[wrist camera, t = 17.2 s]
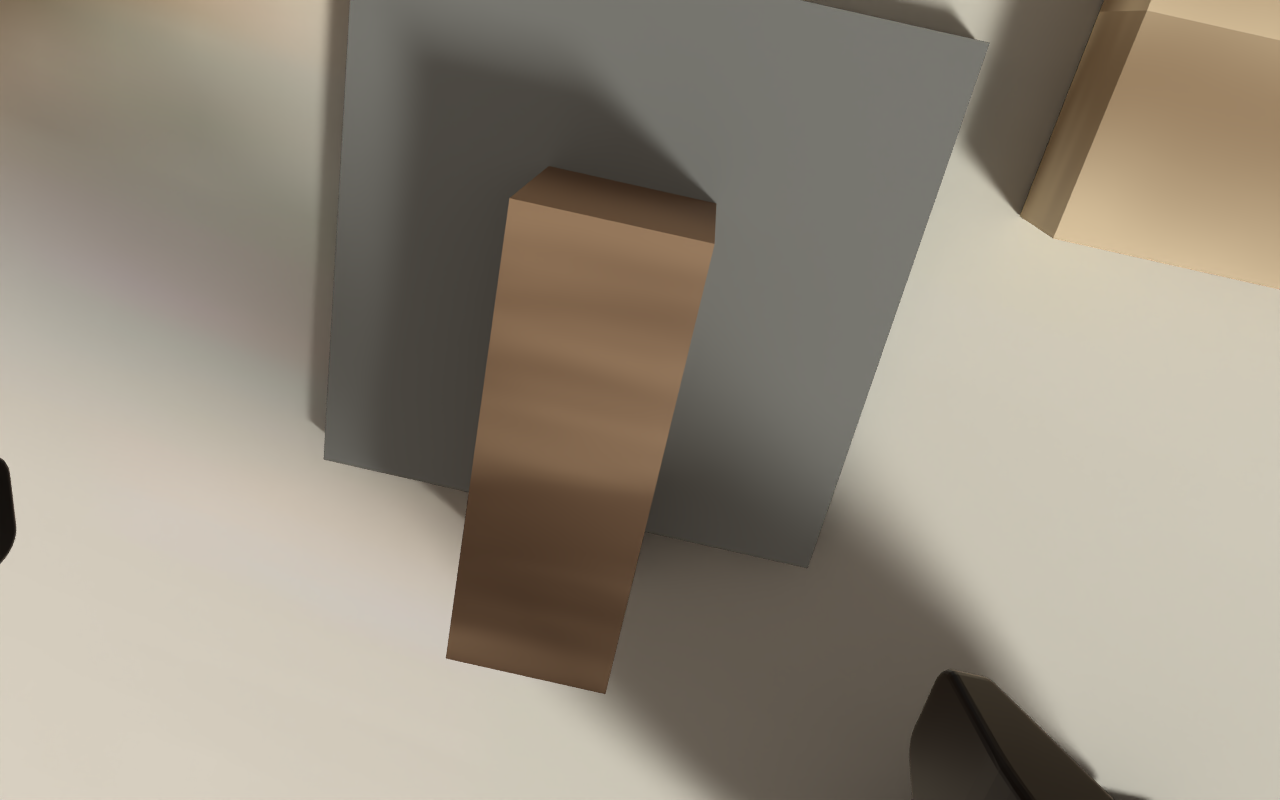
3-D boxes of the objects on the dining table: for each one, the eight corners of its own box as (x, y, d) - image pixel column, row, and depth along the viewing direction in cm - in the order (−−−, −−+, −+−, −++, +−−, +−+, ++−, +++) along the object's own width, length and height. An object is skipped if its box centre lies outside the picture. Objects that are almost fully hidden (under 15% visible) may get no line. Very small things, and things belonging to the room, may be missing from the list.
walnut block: (605, 693, 18) (714, 243, 14) (445, 658, 18) (509, 198, 14) (622, 594, 22) (716, 203, 18) (486, 564, 22) (548, 165, 18)
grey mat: (804, 549, 22) (807, 568, 21) (336, 444, 22) (323, 459, 21) (978, 41, 17) (989, 42, 16) (371, -95, 17) (355, -101, 16)
